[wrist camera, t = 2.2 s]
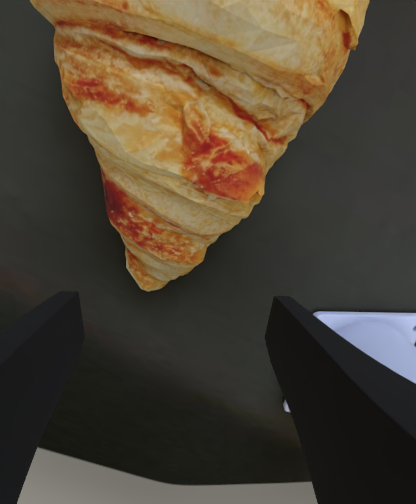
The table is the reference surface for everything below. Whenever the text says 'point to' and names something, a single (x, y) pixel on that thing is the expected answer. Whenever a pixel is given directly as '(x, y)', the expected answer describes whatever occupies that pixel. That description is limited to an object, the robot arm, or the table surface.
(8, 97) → the table surface
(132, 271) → the croissant
